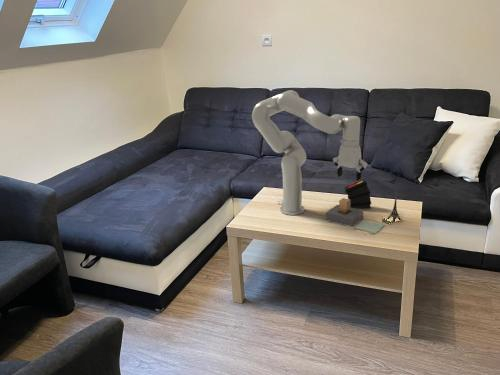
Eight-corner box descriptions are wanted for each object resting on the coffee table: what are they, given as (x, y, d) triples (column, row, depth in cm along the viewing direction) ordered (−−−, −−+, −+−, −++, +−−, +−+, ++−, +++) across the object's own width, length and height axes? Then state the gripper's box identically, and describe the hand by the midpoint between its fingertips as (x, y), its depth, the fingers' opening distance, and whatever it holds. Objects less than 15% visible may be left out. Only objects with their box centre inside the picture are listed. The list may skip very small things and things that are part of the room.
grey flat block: (325, 219, 211) (325, 212, 210) (337, 211, 220) (337, 204, 218) (352, 226, 203) (352, 218, 201) (362, 217, 211) (363, 210, 210)
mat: (355, 228, 201) (355, 227, 201) (364, 220, 208) (364, 219, 208) (375, 233, 195) (375, 232, 195) (384, 225, 202) (384, 224, 202)
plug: (338, 219, 211) (339, 200, 208) (342, 216, 214) (343, 198, 210) (346, 221, 209) (346, 202, 205) (349, 218, 211) (350, 199, 208)
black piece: (377, 205, 221) (365, 181, 217) (353, 215, 224) (341, 191, 220) (376, 203, 224) (364, 178, 220) (352, 212, 228) (340, 188, 224)
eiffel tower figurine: (382, 213, 217) (384, 188, 212) (403, 215, 214) (406, 190, 209) (381, 225, 204) (383, 199, 199) (404, 227, 201) (406, 201, 196)
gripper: (330, 142, 202) (329, 176, 208) (364, 147, 191) (362, 183, 197) (337, 138, 207) (336, 172, 213) (371, 143, 197) (369, 178, 203)
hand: (349, 177), depth 205 cm, fingers open, 9 cm apart
